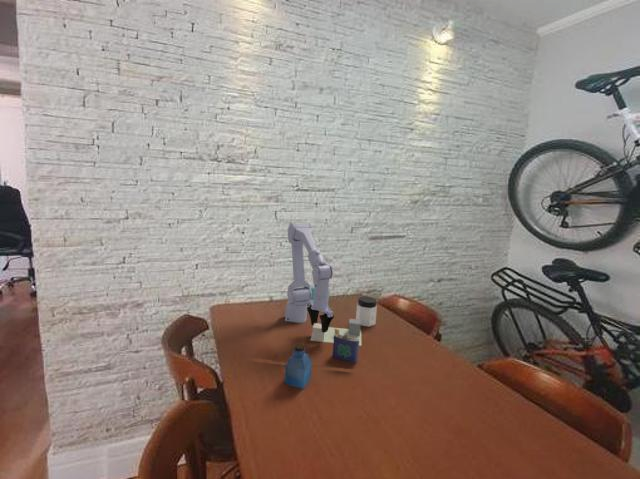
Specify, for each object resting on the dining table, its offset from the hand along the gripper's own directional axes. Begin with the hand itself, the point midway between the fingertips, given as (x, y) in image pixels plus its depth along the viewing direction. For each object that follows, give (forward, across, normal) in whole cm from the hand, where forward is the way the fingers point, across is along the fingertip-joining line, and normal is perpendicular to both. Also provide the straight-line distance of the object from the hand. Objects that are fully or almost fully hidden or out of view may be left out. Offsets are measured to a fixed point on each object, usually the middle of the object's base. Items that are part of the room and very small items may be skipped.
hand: (319, 328), depth 131 cm
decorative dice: (+5, -37, +24) cm, 45 cm away
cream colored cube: (+4, 0, 0) cm, 4 cm away
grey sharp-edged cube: (+4, +3, +16) cm, 17 cm away
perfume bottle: (+6, +20, -21) cm, 30 cm away
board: (+5, +1, +8) cm, 9 cm away
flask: (+6, +18, -1) cm, 19 cm away
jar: (+5, -3, +27) cm, 28 cm away
